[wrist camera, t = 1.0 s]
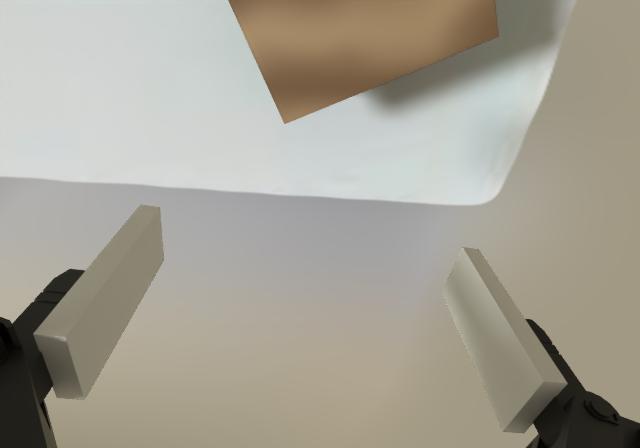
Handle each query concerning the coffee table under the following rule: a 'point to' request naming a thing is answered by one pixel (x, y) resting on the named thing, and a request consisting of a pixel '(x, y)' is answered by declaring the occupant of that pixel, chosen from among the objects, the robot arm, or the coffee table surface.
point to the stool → (353, 43)
